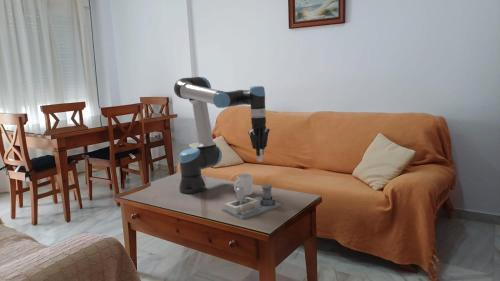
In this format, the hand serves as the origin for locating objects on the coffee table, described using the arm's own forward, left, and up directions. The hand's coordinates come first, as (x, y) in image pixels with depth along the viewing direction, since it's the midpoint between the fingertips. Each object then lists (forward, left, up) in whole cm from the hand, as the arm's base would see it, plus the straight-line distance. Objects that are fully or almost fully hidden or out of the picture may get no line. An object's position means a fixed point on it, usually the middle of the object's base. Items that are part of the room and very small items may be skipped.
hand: (260, 161), depth 199 cm
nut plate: (+9, -14, -20) cm, 26 cm away
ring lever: (+7, -2, -18) cm, 20 cm away
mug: (-11, -4, -20) cm, 23 cm away
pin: (+8, -19, -18) cm, 28 cm away
